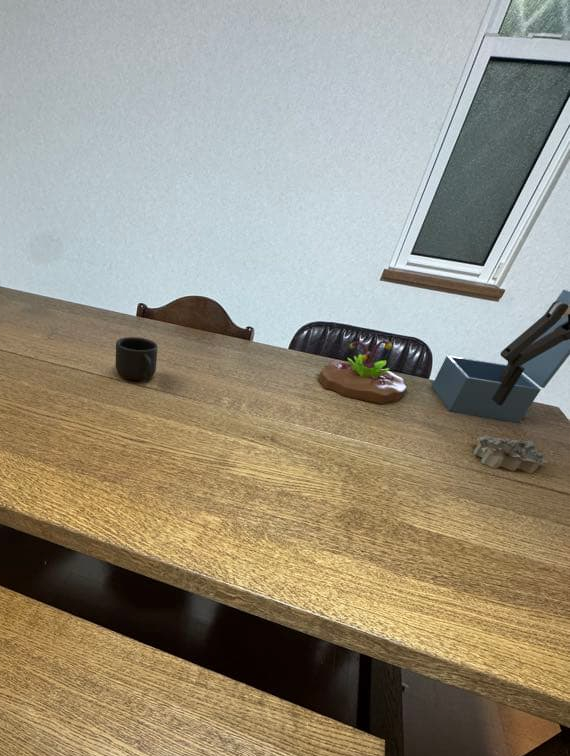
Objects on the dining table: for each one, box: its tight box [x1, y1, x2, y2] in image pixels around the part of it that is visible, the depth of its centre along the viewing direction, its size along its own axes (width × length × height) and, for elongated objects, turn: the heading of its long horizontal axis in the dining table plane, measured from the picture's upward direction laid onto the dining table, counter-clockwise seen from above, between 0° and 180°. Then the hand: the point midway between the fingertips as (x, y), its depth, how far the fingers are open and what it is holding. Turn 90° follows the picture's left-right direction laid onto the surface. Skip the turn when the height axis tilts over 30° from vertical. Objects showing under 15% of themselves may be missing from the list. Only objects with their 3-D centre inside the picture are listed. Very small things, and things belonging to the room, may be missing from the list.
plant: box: [318, 339, 408, 405], centre depth 107 cm, size 20×20×11 cm
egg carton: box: [473, 434, 549, 474], centre depth 86 cm, size 11×8×4 cm
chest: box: [431, 355, 542, 423], centre depth 107 cm, size 16×16×8 cm
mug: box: [114, 336, 159, 382], centre depth 98 cm, size 12×9×7 cm
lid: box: [521, 289, 570, 389], centre depth 98 cm, size 16×16×5 cm
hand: (536, 409), depth 80 cm, fingers open, 13 cm apart
